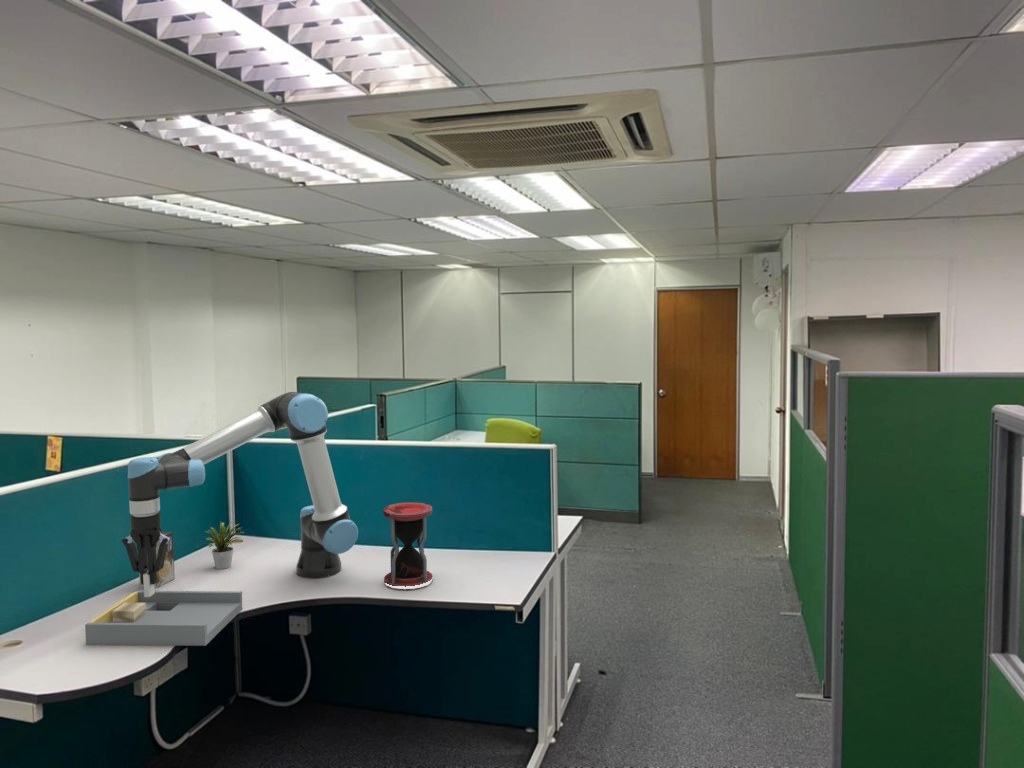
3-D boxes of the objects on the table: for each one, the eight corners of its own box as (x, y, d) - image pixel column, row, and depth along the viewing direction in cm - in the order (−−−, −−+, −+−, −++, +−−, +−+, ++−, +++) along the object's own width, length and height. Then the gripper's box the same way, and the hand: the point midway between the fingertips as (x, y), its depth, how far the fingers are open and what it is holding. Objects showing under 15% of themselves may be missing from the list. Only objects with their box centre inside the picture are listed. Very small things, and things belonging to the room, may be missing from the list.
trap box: (242, 609, 206) (241, 591, 205) (205, 645, 182) (204, 625, 181) (136, 608, 206) (136, 590, 206) (86, 644, 182) (85, 624, 182)
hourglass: (406, 570, 240) (405, 499, 238) (442, 579, 231) (442, 506, 229) (373, 584, 226) (372, 509, 225) (410, 594, 218) (410, 517, 216)
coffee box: (158, 577, 232) (157, 531, 231) (175, 578, 231) (173, 532, 230) (138, 587, 223) (137, 539, 222) (156, 588, 222) (154, 540, 221)
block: (146, 613, 197) (145, 602, 197) (134, 621, 191) (133, 611, 191) (125, 612, 197) (124, 602, 197) (112, 621, 191) (112, 611, 191)
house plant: (223, 576, 233) (222, 529, 232) (191, 572, 237) (189, 526, 236) (252, 563, 247) (250, 519, 245) (220, 559, 251) (219, 515, 250)
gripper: (175, 509, 195) (179, 590, 197) (129, 509, 196) (134, 590, 197) (161, 516, 188) (165, 600, 190) (114, 517, 188) (118, 600, 190)
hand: (149, 595), depth 194 cm, fingers closed
